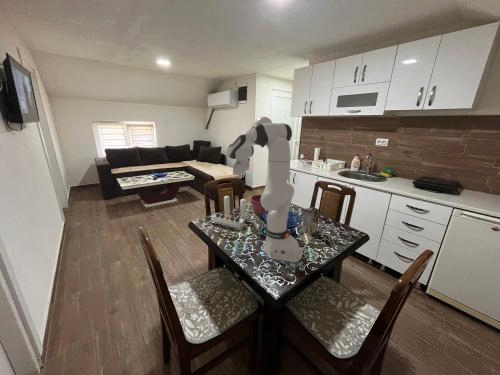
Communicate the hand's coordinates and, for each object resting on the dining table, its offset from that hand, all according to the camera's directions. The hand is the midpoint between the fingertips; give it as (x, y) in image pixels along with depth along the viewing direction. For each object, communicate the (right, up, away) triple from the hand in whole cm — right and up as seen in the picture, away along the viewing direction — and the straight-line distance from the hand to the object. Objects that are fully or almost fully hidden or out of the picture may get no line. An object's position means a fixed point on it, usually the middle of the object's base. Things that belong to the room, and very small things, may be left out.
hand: (241, 177), depth 161 cm
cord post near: (+1, -32, -3) cm, 32 cm away
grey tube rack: (-10, -34, -10) cm, 36 cm away
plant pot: (+14, -28, +9) cm, 33 cm away
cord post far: (-11, -30, +3) cm, 32 cm away
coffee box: (+47, -37, -18) cm, 63 cm away
